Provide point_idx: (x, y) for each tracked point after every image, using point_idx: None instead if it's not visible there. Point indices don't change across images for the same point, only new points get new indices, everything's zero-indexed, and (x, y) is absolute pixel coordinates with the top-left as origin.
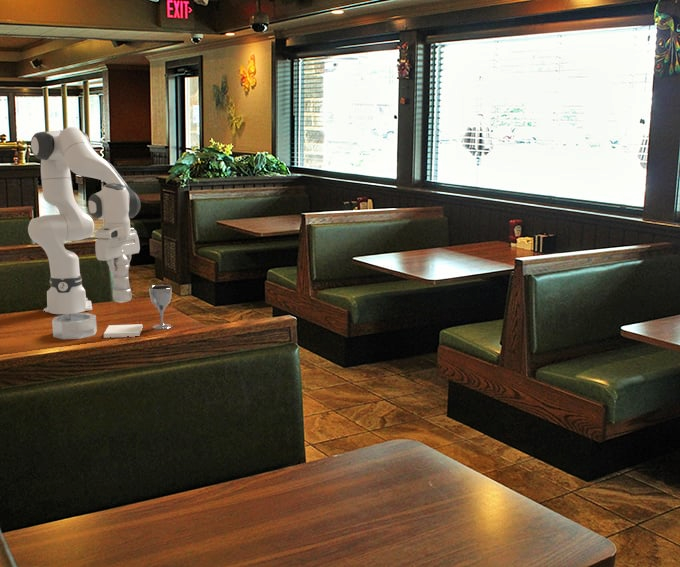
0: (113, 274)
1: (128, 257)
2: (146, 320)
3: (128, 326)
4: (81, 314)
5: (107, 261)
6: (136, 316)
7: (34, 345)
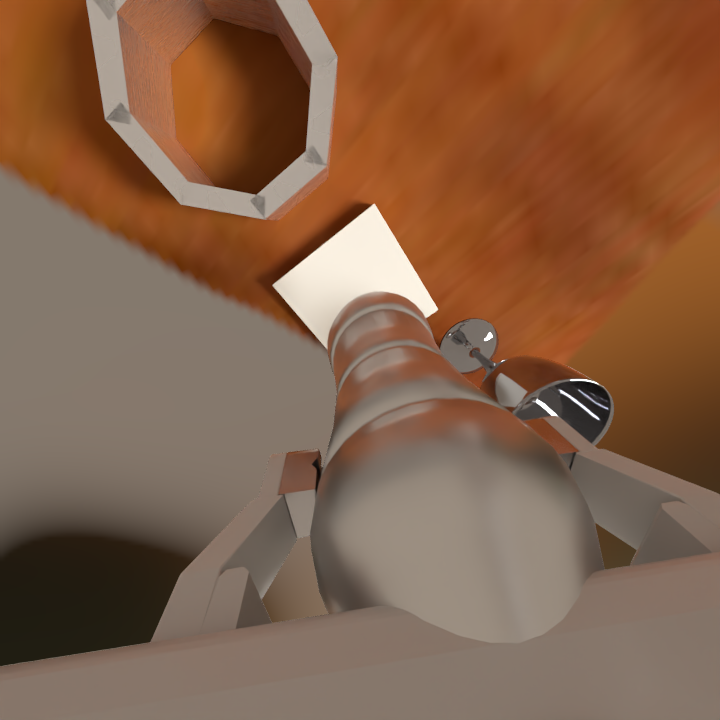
0: (335, 410)
1: (637, 564)
2: (534, 237)
3: (392, 289)
4: (304, 51)
5: (181, 596)
6: (590, 143)
7: (8, 96)
